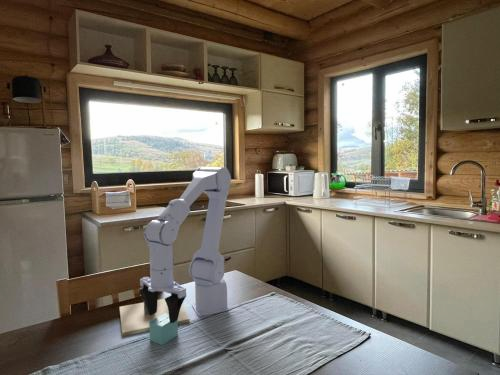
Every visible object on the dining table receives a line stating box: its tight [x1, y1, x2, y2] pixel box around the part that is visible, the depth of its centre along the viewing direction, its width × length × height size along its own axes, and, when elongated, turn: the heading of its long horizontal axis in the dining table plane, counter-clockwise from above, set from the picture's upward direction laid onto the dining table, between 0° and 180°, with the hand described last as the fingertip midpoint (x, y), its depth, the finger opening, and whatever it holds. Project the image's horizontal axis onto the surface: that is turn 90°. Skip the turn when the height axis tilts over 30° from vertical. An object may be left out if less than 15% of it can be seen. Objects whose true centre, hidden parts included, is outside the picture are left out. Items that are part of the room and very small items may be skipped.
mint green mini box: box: [149, 313, 179, 346], centre depth 87 cm, size 6×4×5 cm
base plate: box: [119, 298, 191, 337], centre depth 98 cm, size 18×16×5 cm
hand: (163, 317), depth 86 cm, fingers open, 7 cm apart
